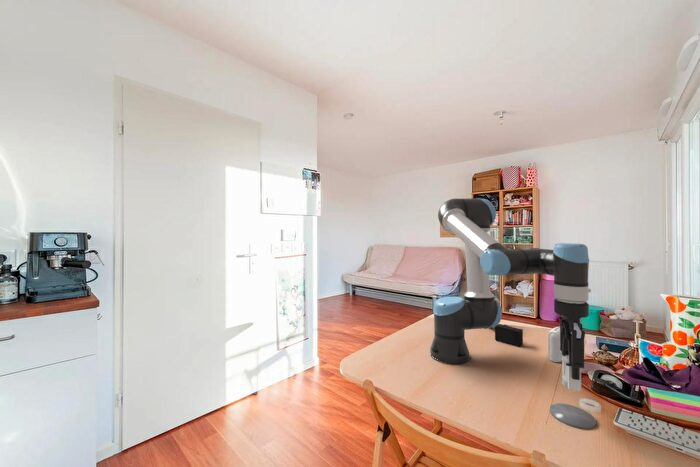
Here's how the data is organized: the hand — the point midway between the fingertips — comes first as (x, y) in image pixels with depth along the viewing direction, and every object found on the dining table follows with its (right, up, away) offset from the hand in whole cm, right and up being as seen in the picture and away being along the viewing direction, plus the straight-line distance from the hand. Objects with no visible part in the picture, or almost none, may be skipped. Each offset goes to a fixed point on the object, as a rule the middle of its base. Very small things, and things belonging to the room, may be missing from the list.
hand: (571, 384), depth 80 cm
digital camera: (+12, -8, +52) cm, 54 cm away
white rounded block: (+22, -8, +35) cm, 42 cm away
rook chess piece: (0, -1, 0) cm, 1 cm away
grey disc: (0, -9, 0) cm, 9 cm away
